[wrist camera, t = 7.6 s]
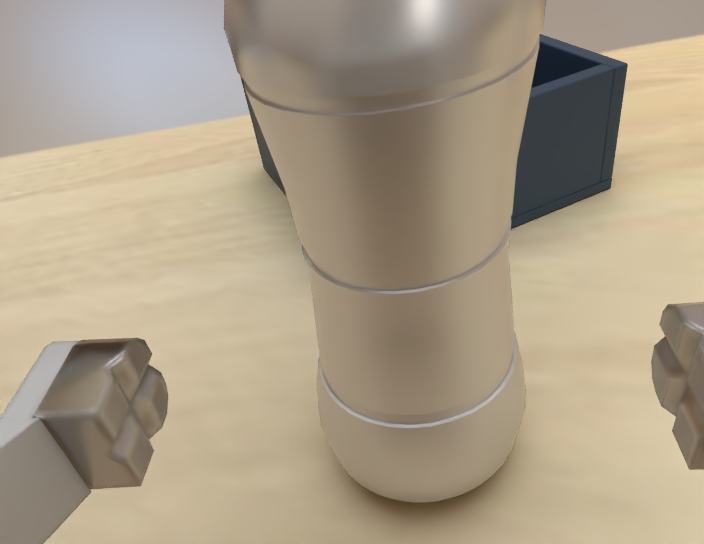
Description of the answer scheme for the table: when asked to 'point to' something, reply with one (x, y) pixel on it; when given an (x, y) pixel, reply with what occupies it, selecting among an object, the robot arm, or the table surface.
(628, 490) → the table surface
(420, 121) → the metal water bottle
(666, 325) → the robot arm
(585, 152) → the tub
